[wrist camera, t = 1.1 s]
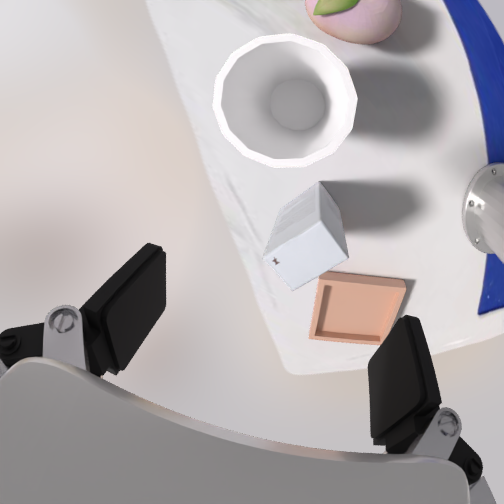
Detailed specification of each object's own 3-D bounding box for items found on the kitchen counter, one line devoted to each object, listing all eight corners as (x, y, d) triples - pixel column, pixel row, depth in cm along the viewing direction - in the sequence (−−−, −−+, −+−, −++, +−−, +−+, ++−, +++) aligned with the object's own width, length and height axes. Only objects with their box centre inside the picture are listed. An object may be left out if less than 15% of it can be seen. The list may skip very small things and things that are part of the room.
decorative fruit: (353, 69, 23) (369, 50, 14) (295, 23, 21) (284, -12, 13) (404, 25, 18) (435, -3, 10) (347, -20, 17) (355, -62, 8)
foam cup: (358, 111, 25) (385, 112, 14) (296, 161, 30) (281, 195, 19) (297, 49, 23) (282, 9, 12) (238, 102, 28) (186, 100, 17)
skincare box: (301, 234, 34) (290, 293, 24) (279, 208, 33) (259, 258, 23) (341, 207, 31) (350, 259, 21) (320, 179, 30) (320, 217, 20)
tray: (403, 279, 33) (406, 288, 31) (382, 336, 39) (383, 345, 37) (319, 270, 36) (319, 279, 34) (309, 329, 41) (308, 338, 39)
